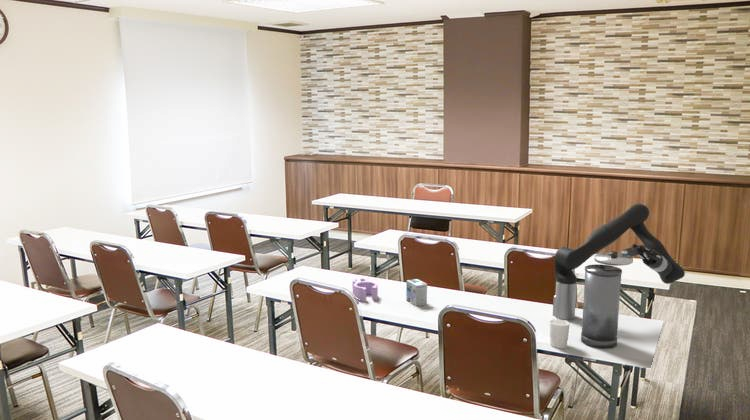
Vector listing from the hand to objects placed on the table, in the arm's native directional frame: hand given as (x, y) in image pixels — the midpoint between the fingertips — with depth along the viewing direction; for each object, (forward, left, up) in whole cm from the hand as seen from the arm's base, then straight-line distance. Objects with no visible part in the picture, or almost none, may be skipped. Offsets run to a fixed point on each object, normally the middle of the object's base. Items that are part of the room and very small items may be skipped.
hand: (636, 246), depth 258 cm
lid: (0, -9, -4) cm, 9 cm away
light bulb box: (-85, -55, -39) cm, 108 cm away
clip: (-109, -71, -39) cm, 136 cm away
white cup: (-7, -39, -39) cm, 55 cm away
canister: (0, -22, -39) cm, 44 cm away
